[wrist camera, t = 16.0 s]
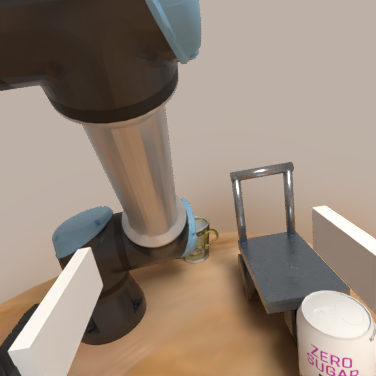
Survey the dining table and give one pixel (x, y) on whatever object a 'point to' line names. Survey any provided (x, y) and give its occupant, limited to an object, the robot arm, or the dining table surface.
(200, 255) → the ceramic cup
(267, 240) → the trolley
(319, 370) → the supplement can
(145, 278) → the dining table surface
